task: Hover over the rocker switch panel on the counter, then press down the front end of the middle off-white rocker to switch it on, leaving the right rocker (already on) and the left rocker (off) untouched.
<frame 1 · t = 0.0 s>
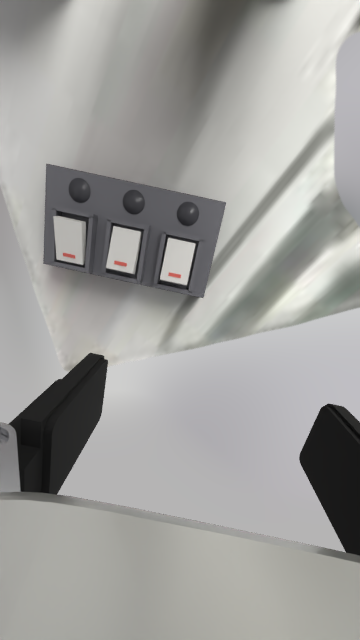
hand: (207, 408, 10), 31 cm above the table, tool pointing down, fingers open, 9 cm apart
middle rocker: (124, 250, 33), point 6 cm above the table, hinge at -12.0°
rocker 1: (70, 241, 33), point 6 cm above the table, hinge at 12.0°
rocker switch panel: (136, 236, 38), on the table
rocker 2: (177, 262, 33), point 6 cm above the table, hinge at -12.0°
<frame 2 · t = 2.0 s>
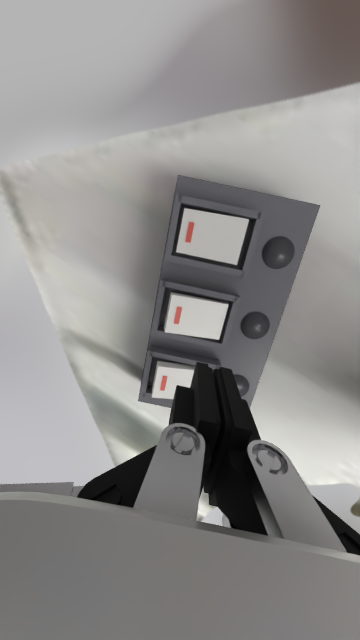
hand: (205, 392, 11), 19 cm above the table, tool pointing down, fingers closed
middle rocker: (195, 316, 24), point 6 cm above the table, hinge at -12.0°
rocker 1: (211, 237, 21), point 6 cm above the table, hinge at 12.0°
rocker switch panel: (213, 309, 29), on the table
rocker 2: (180, 381, 26), point 6 cm above the table, hinge at -12.0°
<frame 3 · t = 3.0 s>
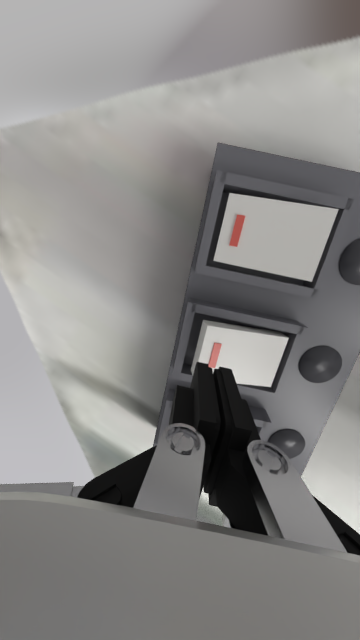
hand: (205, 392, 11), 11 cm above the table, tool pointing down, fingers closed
middle rocker: (238, 354, 16), point 6 cm above the table, hinge at -12.0°
rocker 1: (269, 238, 14), point 6 cm above the table, hinge at 12.0°
rocker switch panel: (251, 335, 22), on the table
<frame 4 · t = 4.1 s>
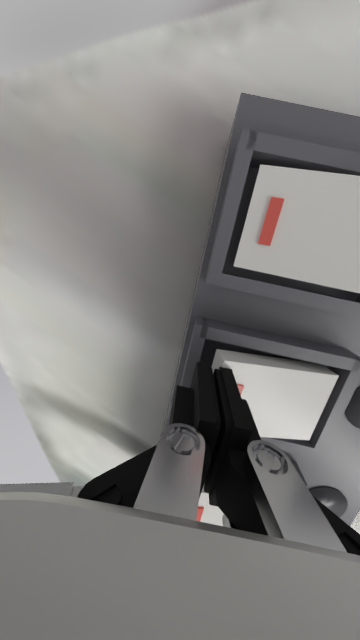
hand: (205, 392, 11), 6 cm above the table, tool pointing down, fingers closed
middle rocker: (265, 397, 12), point 6 cm above the table, hinge at -11.4°, touching gripper
rocker 1: (318, 233, 9), point 6 cm above the table, hinge at 12.0°
rocker switch panel: (274, 359, 17), on the table
rocker 2: (225, 507, 14), point 6 cm above the table, hinge at -12.0°
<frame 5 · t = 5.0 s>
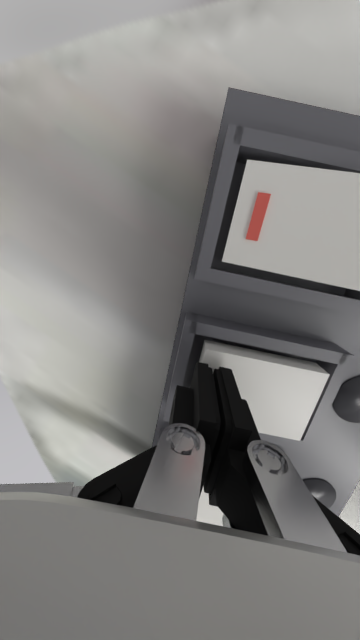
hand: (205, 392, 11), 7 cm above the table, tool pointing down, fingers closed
middle rocker: (252, 391, 12), point 6 cm above the table, hinge at -0.8°
rocker 1: (305, 228, 9), point 6 cm above the table, hinge at 12.0°
rocker switch panel: (265, 354, 17), on the table
rocker 2: (216, 500, 14), point 6 cm above the table, hinge at -12.0°
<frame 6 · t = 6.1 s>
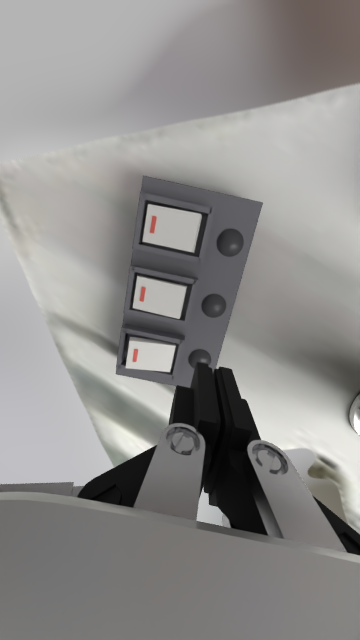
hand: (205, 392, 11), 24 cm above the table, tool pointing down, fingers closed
middle rocker: (159, 297, 28), point 6 cm above the table, hinge at 5.8°
rocker 1: (171, 228, 25), point 6 cm above the table, hinge at 12.0°
rocker switch panel: (181, 293, 33), on the table
rocker 2: (150, 355, 30), point 6 cm above the table, hinge at -12.0°
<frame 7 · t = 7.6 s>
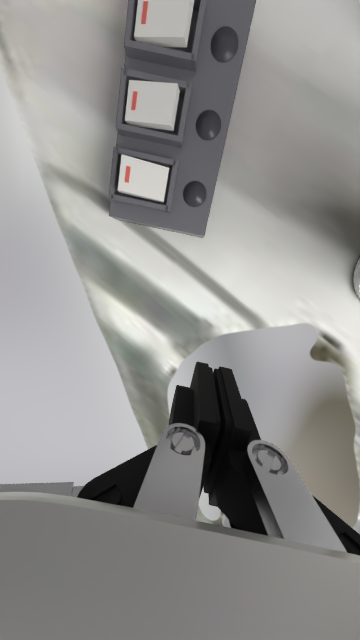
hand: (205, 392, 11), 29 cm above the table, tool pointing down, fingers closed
middle rocker: (151, 105, 27), point 6 cm above the table, hinge at 10.8°
rocker 1: (163, 18, 25), point 6 cm above the table, hinge at 12.0°
rocker switch panel: (176, 134, 32), on the table
rocker 2: (143, 180, 29), point 6 cm above the table, hinge at -12.0°
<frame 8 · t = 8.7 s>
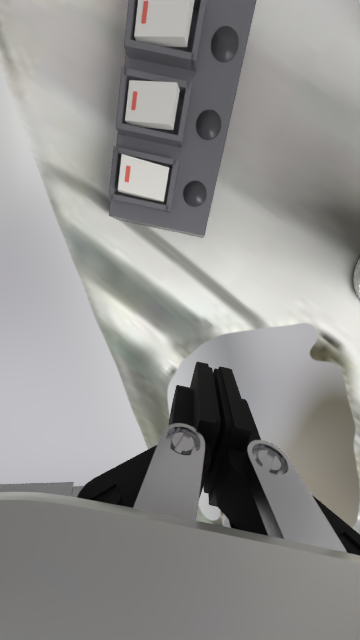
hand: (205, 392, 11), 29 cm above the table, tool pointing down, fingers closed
middle rocker: (151, 105, 27), point 6 cm above the table, hinge at 12.8°
rocker 1: (163, 17, 25), point 6 cm above the table, hinge at 12.0°
rocker switch panel: (176, 134, 32), on the table
rocker 2: (143, 179, 29), point 6 cm above the table, hinge at -12.0°
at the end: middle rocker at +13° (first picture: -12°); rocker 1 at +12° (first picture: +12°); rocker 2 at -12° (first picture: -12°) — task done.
